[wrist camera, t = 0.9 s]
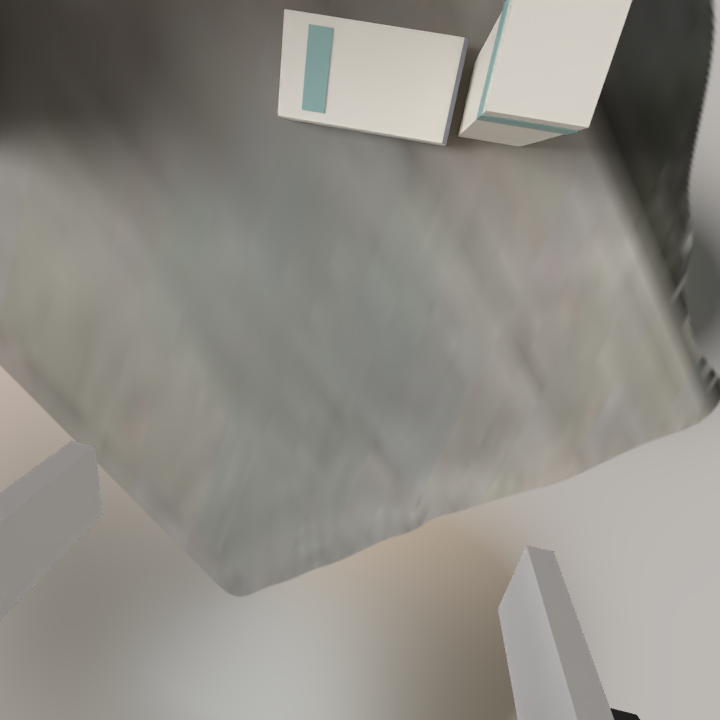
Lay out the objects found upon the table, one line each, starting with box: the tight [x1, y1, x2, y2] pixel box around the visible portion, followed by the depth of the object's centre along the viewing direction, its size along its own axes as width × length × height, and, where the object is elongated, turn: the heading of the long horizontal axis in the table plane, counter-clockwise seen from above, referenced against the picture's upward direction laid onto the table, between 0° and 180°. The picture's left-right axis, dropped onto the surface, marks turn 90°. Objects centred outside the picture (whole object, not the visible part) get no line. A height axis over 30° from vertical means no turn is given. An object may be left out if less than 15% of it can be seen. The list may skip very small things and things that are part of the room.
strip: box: [278, 9, 469, 146], centre depth 28 cm, size 12×6×2 cm, turn 81°
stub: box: [458, 0, 632, 147], centre depth 23 cm, size 5×5×13 cm
